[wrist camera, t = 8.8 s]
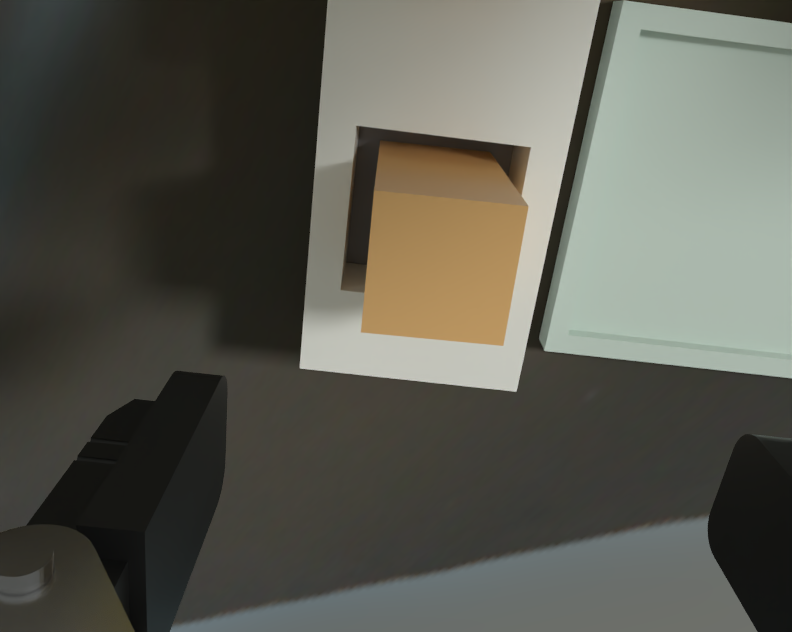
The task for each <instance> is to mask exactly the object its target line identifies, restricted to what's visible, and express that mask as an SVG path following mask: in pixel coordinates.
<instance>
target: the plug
mask: <svg viewBox="0 0 792 632" xmlns="http://www.w3.org/2000/svg"><path fill="white" fill-rule="evenodd" d="M528 207H529V206H528V205H527V203H526V202H525V200H524V199H523V198H522V196H521V195H520V193H519V192H518V191H517V189H516V188H515V186H514V185H513V183H512V182H511V181H510V179H509V178H508V176H507V175H506V174H505V172H504V171H503V169H502V168H501V167H500V165H499V164H498V162H497V161H496V159H495V158H494V157H493V155H492V154H491V152H486V151H477V150H467V149H458V148H449V147H439V146H430V145H420V144H411V143H401V142H392V141H383V140H380V146H379V154H378V162H377V170H376V179H375V187H374V196H373V207H372V217H371V228H370V239H369V250H368V260H367V271H366V282H365V293H364V303H363V314H362V325H361V333H372V334H383V335H393V336H404V337H414V338H425V339H435V340H446V341H456V342H467V343H478V344H488V345H499V346H503V345H504V340H505V334H506V329H507V323H508V318H509V312H510V306H511V301H512V295H513V290H514V284H515V279H516V273H517V268H518V262H519V257H520V251H521V246H522V240H523V235H524V229H525V224H526V218H527V213H528Z"/></svg>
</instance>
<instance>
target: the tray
mask: <svg viewBox="0 0 792 632" xmlns="http://www.w3.org/2000/svg"><path fill="white" fill-rule="evenodd" d="M539 340H540V342H541V344H542V347H543V349H544V351H550V352H559V353H568V354H577V355H587V356H596V357H605V358H614V359H623V360H632V361H641V362H650V363H659V364H668V365H677V366H686V367H695V368H704V369H713V370H722V371H731V372H740V373H749V374H759V375H768V376H777V377H786V378H792V23H787V22H779V21H772V20H765V19H757V18H750V17H743V16H735V15H728V14H720V13H713V12H706V11H698V10H691V9H683V8H676V7H669V6H661V5H654V4H647V3H639V2H632V1H624V0H622V1H613V5H612V9H611V14H610V19H609V23H608V28H607V32H606V37H605V41H604V46H603V50H602V55H601V59H600V64H599V68H598V73H597V77H596V82H595V86H594V91H593V95H592V100H591V104H590V109H589V114H588V118H587V123H586V127H585V132H584V136H583V141H582V145H581V150H580V154H579V159H578V163H577V168H576V172H575V177H574V181H573V186H572V190H571V195H570V200H569V204H568V209H567V213H566V218H565V222H564V227H563V231H562V236H561V240H560V245H559V249H558V254H557V258H556V263H555V267H554V272H553V276H552V281H551V285H550V290H549V295H548V299H547V304H546V308H545V313H544V317H543V322H542V326H541V331H540V335H539Z"/></svg>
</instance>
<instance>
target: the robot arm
mask: <svg viewBox="0 0 792 632" xmlns="http://www.w3.org/2000/svg"><path fill="white" fill-rule="evenodd" d="M226 420H227V380H226V377H225V376H220V375H211V374H202V373H193V372H183V371H175V372H174V373H173V374H172V376H171V377H170V379H169V380H168V382H167V384H166V385H165V387H164V388H163V390H162V391H161V393H160V394H159V396H158V398H157V399H156V401H148V400H139V399H134V400H132V401H131V402H129V403H127V404H126V405H124V406H122V407H121V408H119V409H118V410H116V411H114V412H113V413H111V414H109V415H108V416H107V417H106V418H105V419H104V421H103V422H102V423H101V425H100V426H99V427H98V429H97V430H96V431H95V433H94V434H93V436H92V437H91V441H90V442H87V444H86V445H85V446H84V448H83V449H82V450H81V452H80V453H79V455H78V458H77V461H75V460H74V461H73V463H72V464H71V465H70V467H69V468H68V470H67V471H66V472H65V474H64V475H63V476H62V478H61V479H60V480H59V482H58V483H57V484H56V486H55V487H54V489H53V490H52V491H51V493H50V494H49V495H48V497H47V498H46V499H45V501H44V502H43V503H42V505H41V506H40V508H39V509H38V510H37V512H36V513H35V514H34V516H33V517H32V518H31V520H30V521H29V522H28V524H27V525H26V526H22V527H18V528H14V529H10V530H7V531H4V532H1V533H0V632H170V629H171V627H172V624H173V621H174V619H175V616H176V613H177V611H178V608H179V605H180V603H181V600H182V597H183V595H184V592H185V589H186V587H187V584H188V581H189V579H190V576H191V573H192V571H193V568H194V565H195V563H196V560H197V557H198V555H199V552H200V549H201V547H202V544H203V542H204V539H205V536H206V534H207V531H208V528H209V526H210V523H211V520H212V518H213V515H214V512H215V510H216V507H217V504H218V501H219V498H220V494H221V489H222V484H223V478H224V471H225V453H226ZM708 539H709V544H710V548H711V551H712V553H713V555H714V557H715V559H716V561H717V563H718V564H719V566H720V568H721V569H722V571H723V573H724V575H725V576H726V578H727V580H728V581H729V583H730V585H731V587H732V588H733V590H734V592H735V594H736V595H737V597H738V599H739V600H740V602H741V604H742V606H743V607H744V609H745V611H746V613H747V614H748V616H749V618H750V619H751V621H752V623H753V624H754V626H755V628H756V630H757V631H758V632H792V439H790V438H781V437H771V436H762V435H753V434H746V435H744V436H742V437H741V438H740V439H739V440H738V441H737V443H736V444H735V447H734V449H733V452H732V454H731V457H730V460H729V463H728V465H727V468H726V471H725V474H724V476H723V479H722V482H721V485H720V487H719V490H718V493H717V496H716V498H715V501H714V504H713V507H712V509H711V512H710V515H709V521H708Z"/></svg>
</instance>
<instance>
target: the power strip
mask: <svg viewBox="0 0 792 632" xmlns="http://www.w3.org/2000/svg"><path fill="white" fill-rule="evenodd" d="M599 4H600V0H328V3H327V17H326V30H325V43H324V56H323V69H322V82H321V95H320V108H319V121H318V134H317V147H316V160H315V173H314V186H313V200H312V213H311V226H310V239H309V252H308V265H307V278H306V291H305V304H304V317H303V330H302V343H301V356H300V368H301V369H310V370H320V371H329V372H338V373H348V374H357V375H366V376H375V377H385V378H394V379H403V380H413V381H422V382H431V383H441V384H450V385H459V386H469V387H478V388H487V389H496V390H506V391H515V392H516V391H517V387H518V382H519V377H520V373H521V368H522V363H523V359H524V354H525V349H526V345H527V340H528V335H529V331H530V326H531V321H532V317H533V312H534V307H535V303H536V298H537V294H538V289H539V284H540V280H541V275H542V270H543V266H544V261H545V256H546V252H547V247H548V242H549V238H550V233H551V228H552V224H553V219H554V214H555V210H556V205H557V200H558V196H559V191H560V186H561V182H562V177H563V172H564V168H565V163H566V158H567V154H568V149H569V144H570V140H571V135H572V130H573V126H574V121H575V116H576V112H577V107H578V102H579V98H580V93H581V88H582V84H583V79H584V74H585V70H586V65H587V60H588V56H589V51H590V46H591V42H592V37H593V32H594V28H595V23H596V18H597V14H598V9H599ZM380 140H383V141H392V142H401V143H411V144H420V145H430V146H439V147H449V148H458V149H467V150H477V151H486V152H491V154H492V155H493V157H494V158H495V159H496V161H497V162H498V164H499V165H500V167H501V168H502V169H503V171H504V172H505V174H506V175H507V176H508V178H509V179H510V181H511V182H512V183H513V185H514V186H515V188H516V189H517V191H518V192H519V193H520V195H521V196H522V198H523V199H524V200H525V202H526V203H527V205H528V206H529V207H528V213H527V218H526V224H525V229H524V235H523V240H522V246H521V251H520V257H519V262H518V268H517V273H516V279H515V284H514V290H513V295H512V301H511V306H510V312H509V318H508V323H507V329H506V334H505V340H504V345H503V346H499V345H488V344H478V343H467V342H456V341H446V340H435V339H425V338H414V337H404V336H393V335H383V334H372V333H361V325H362V314H363V303H364V293H365V282H366V271H367V260H368V250H369V239H370V228H371V217H372V207H373V196H374V187H375V179H376V170H377V162H378V154H379V146H380Z"/></svg>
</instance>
